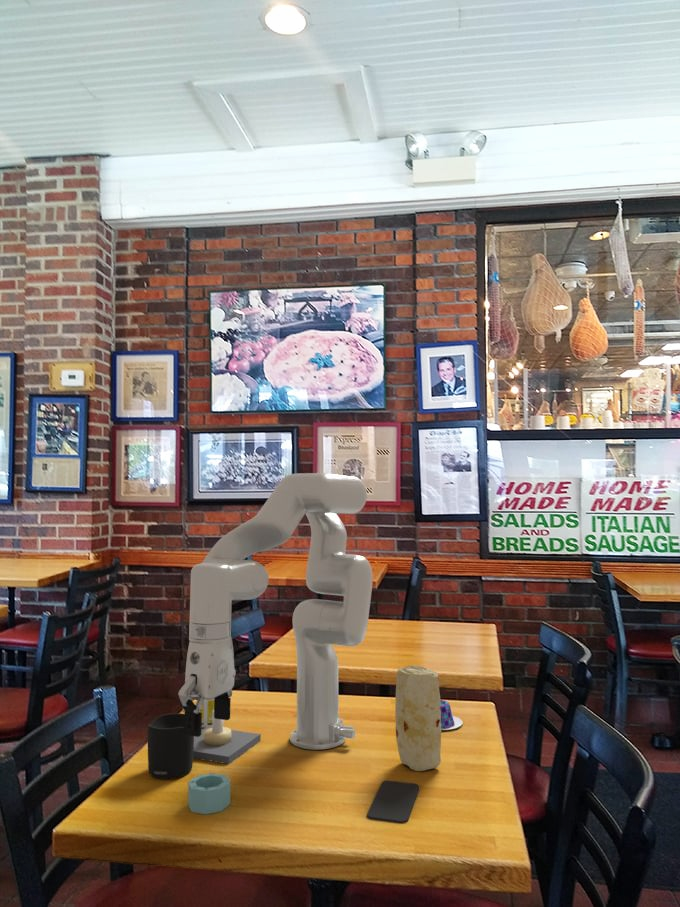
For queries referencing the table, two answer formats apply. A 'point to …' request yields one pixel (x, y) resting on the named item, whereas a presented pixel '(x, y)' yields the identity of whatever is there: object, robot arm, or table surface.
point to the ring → (209, 793)
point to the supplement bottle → (207, 712)
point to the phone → (393, 802)
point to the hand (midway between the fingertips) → (207, 726)
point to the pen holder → (169, 747)
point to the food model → (418, 717)
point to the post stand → (222, 742)
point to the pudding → (448, 717)
